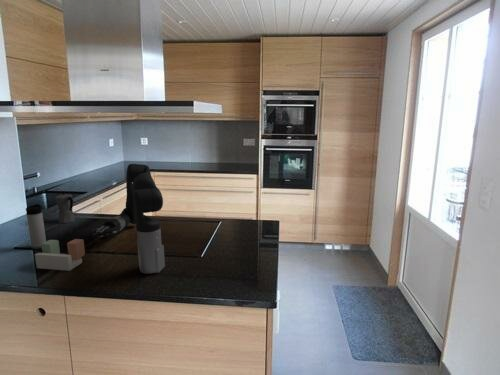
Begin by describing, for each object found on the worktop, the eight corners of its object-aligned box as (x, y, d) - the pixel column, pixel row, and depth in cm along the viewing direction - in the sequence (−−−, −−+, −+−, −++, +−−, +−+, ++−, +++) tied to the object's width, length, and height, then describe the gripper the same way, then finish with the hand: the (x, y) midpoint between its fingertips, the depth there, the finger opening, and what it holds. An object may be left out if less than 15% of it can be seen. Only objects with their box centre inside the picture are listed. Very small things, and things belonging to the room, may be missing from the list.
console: (82, 262, 145) (80, 249, 144) (69, 270, 138) (67, 256, 136) (51, 260, 148) (49, 247, 147) (36, 268, 140) (34, 254, 139)
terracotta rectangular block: (85, 254, 148) (83, 239, 146) (77, 259, 143) (75, 243, 142) (76, 254, 149) (74, 238, 147) (69, 258, 144) (67, 243, 142)
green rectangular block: (60, 255, 147) (58, 240, 146) (51, 260, 142) (49, 244, 141) (52, 254, 148) (50, 239, 146) (43, 259, 143) (41, 244, 142)
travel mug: (49, 243, 167) (44, 204, 162) (42, 248, 160) (36, 207, 156) (36, 243, 166) (30, 204, 162) (28, 249, 160) (22, 208, 156)
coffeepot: (53, 221, 202) (49, 191, 198) (69, 217, 209) (65, 188, 205) (66, 225, 193) (62, 194, 189) (82, 221, 201) (79, 191, 197)
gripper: (101, 217, 174) (79, 228, 157) (125, 218, 171) (105, 230, 155) (103, 231, 175) (81, 244, 159) (127, 232, 173) (107, 245, 156)
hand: (93, 237), depth 157 cm, fingers closed
